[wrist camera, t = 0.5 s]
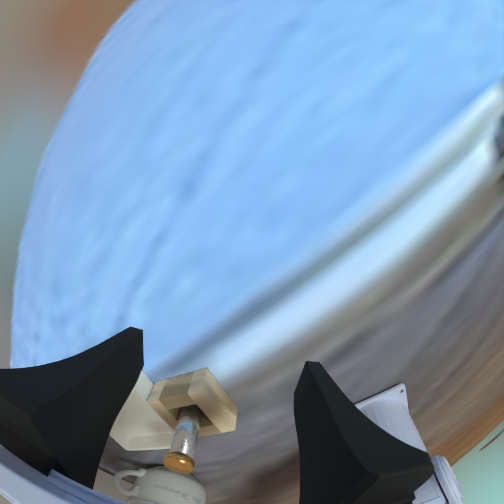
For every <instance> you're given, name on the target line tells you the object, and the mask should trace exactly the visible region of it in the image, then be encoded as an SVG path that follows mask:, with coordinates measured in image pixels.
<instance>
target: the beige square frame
mask: <svg viewBox="0 0 504 504" xmlns="http://www.w3.org/2000/svg"><path fill="white" fill-rule="evenodd" d="M147 403H148V404H149V405H150V406H151V407H152V408H153V409H154V410H155V412H156V413H157V414H158V415H159V416H160V417H161V418H162V419H163V420H164V421H165V422H166V423H167V424H168V425H169V426H170V427H171V428H172V429H173V430H174V431H175V430H176V427H177V424H178V420H179V417H180V414H181V410H182V407H184V406H188V405H193V404H197V406H198V407H199V408H200V409H201V410H202V411H203V416H202V421H201V425H200V429H199V434H198V437H201V436H207V435H213V434H219V433H224V432H229V431H234V430H235V428H236V418H237V407H236V406H235V404H234V403H233V402H232V400H231V399H230V398H229V397H228V395H227V394H226V393H225V391H224V390H223V389H222V387H221V386H220V385H219V383H218V382H217V381H216V379H215V378H214V377H213V375H212V374H211V372H210V371H209V370H208V368H204V369H201V370H198V371H194V372H191V373H187V374H184V375H180V376H176V377H173V378H169V379H165V380H161V381H157V382H156V383H155V385H154V387H153V390H152V392H151V394H150V396H149V398H148V401H147Z"/></svg>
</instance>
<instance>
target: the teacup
mask: <svg viewBox="0 0 504 504" xmlns="http://www.w3.org/2000/svg"><path fill="white" fill-rule="evenodd" d="M128 475H133V476H138V477H137V478H136V481H135V483H134V485H133V487H132V488H131V489H130V490H126V489H125V488H123V486H122V484H121V479H122V478H123V477H124V476H128ZM113 484H114V487H115V489H116V490H117V491H118V492H119V493H121V494H123V495H127V496H129V498H128V500H127V502H128V504H205V501H206V493H205V490H204V488H203V486H202V485H201V484H200V483H199V482H198V481H197V480H196V479H195V478H194V477H193V476H192V475H190V474H181V473H176V472H173V471H171V470H169V469H167V468H166V467H165V466H155V467H153V468H148V469H144V468H139V469H138V470H122V471H119V472H117V473H116V474H115V476H114V478H113Z"/></svg>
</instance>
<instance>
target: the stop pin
mask: <svg viewBox="0 0 504 504" xmlns="http://www.w3.org/2000/svg"><path fill="white" fill-rule="evenodd" d="M202 416H203V411H202V410H201V409H200V408H199V407H198V406H197V404H193V405H188V406H184V407H182V410H181V414H180V417H179V420H178V424H177V427H176V430H175V433H174V437H173V440H172V443H171V447H170V450H169V453H167V454H166V455H165V458H164V461H163V465H164V466H165V467H166V468H167V469H169V470H171V471H173V472H176V473H181V474H189V473H192V472H193V468H194V464H195V462H194V460H193V456H194V452H195V447H196V443H197V438H198V434H199V429H200V425H201V421H202Z"/></svg>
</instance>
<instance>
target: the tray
mask: <svg viewBox="0 0 504 504" xmlns="http://www.w3.org/2000/svg"><path fill="white" fill-rule="evenodd" d="M153 387H154V384H153V383H152V382H151V380H150V379H149V378H148V377H147V375H146V374H145V373H144V372H143V370H142V371H141V373H140V376H139V378H138V381H137V383H136V385H135V386H134V388H133V390H132V392H131V393H130V395H129V397H128V399H127V400H126V402H125V404H124V405H123V407H122V409H121V411H120V412H119V414H118V416H117V418H116V420H115V422H114V424H113V426H112V429H111V431H110V434H109V435H110V436H111V437H112V438H113V439H114V440H115V441H116V442H117V443H119V444H120V445H121V446H122V447H123V448H124V449H125V450H126V451H132V450H155V449H168V448H170V447H171V443H172V440H173V437H174V433H175V431H174V430H173V429H172V428H171V427H170V426H169V425H168V424H167V423H166V422H165V421H164V420H163V419H162V418H161V417H160V416H159V415H158V414H157V413H156V412H155V410H154V409H153V408H152V407H151V406H150V405H149V404H148V403H147V401H148V398H149V396H150V394H151V392H152V390H153Z"/></svg>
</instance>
